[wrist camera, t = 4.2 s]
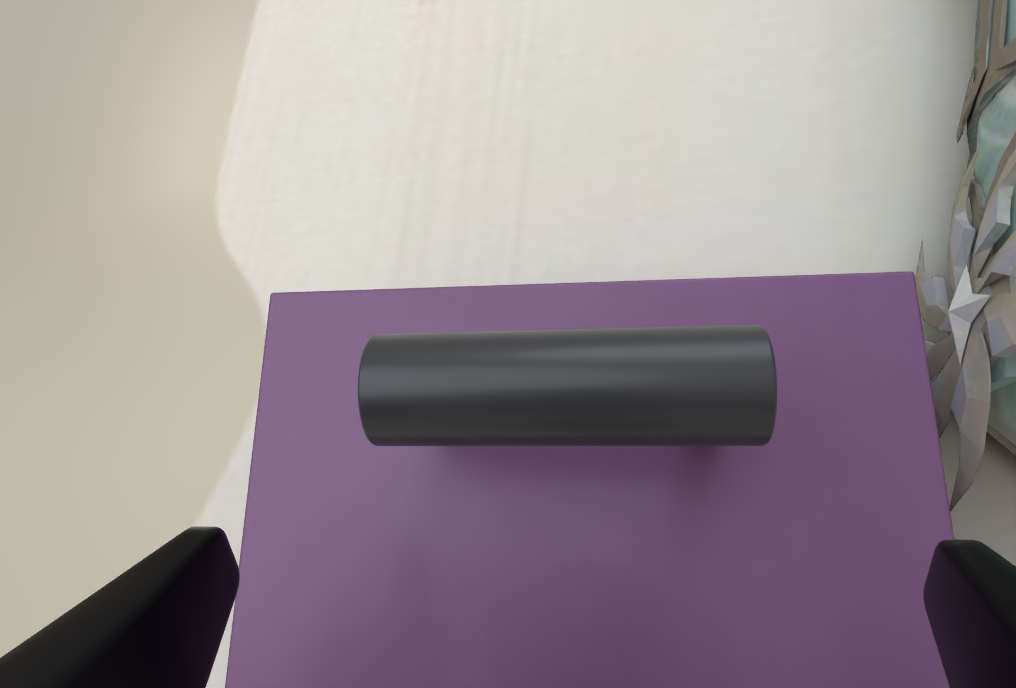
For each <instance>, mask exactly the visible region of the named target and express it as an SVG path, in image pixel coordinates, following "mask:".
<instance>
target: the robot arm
mask: <svg viewBox="0 0 1016 688" xmlns="http://www.w3.org/2000/svg"><path fill="white" fill-rule="evenodd" d="M239 582H240V573H239V568H238V565H237V562H236V560H235V557H234V554H233V552H232V549H231V547H230V544H229V541H228V539H227V536H226V534H225V532H224V531H223V530H222V529H221V528H218V527H191V528H188V529H187V530H185V531H184V532H182V533H181V534H179V535H178V536H176V537H175V538H173V539H172V540H170V541H169V542H168V543H166V544H165V545H163V546H162V547H160V548H159V549H157V550H156V551H155V552H153V553H152V554H150V555H149V556H147V557H146V558H144V559H143V560H142V561H140V562H139V563H137V564H136V565H134V566H133V567H131V568H130V569H129V570H127V571H126V572H124V573H123V574H121V575H120V576H118V577H117V578H116V579H114V580H113V581H111V582H110V583H108V584H107V585H105V586H104V587H102V588H101V589H100V590H98V591H97V592H95V593H94V594H92V595H91V596H89V597H88V598H87V599H85V600H84V601H82V602H81V603H79V604H78V605H77V606H75V607H74V608H72V609H71V610H69V611H68V612H66V613H65V614H63V615H62V616H60V617H59V618H58V619H56V620H55V621H53V622H52V623H50V624H49V625H48V626H46V627H45V628H43V629H42V630H40V631H39V632H37V633H36V634H34V635H33V636H32V637H30V638H29V639H27V640H26V641H24V642H23V643H21V644H20V645H19V646H17V647H16V648H14V649H13V650H11V651H10V652H8V653H7V654H5V655H4V656H3V657H1V658H0V688H205V687H206V684H207V682H208V679H209V676H210V673H211V670H212V667H213V664H214V661H215V658H216V655H217V652H218V649H219V645H220V642H221V639H222V636H223V633H224V630H225V627H226V624H227V621H228V618H229V615H230V612H231V609H232V606H233V603H234V600H235V597H236V594H237V591H238V587H239ZM923 600H924V606H925V610H926V613H927V616H928V620H929V623H930V626H931V629H932V632H933V636H934V639H935V642H936V645H937V649H938V652H939V655H940V658H941V661H942V665H943V668H944V671H945V674H946V678H947V681H948V684H949V687H950V688H1016V566H1014V565H1013V564H1011V563H1010V562H1009V561H1007V560H1006V559H1005V558H1003V557H1002V556H1000V555H999V554H998V553H996V552H995V551H993V550H992V549H991V548H989V547H988V546H986V545H985V544H983V543H981V542H979V541H975V540H942V541H940V542H939V543H938V544H937V546H936V548H935V550H934V554H933V557H932V560H931V564H930V567H929V571H928V574H927V578H926V581H925V584H924V589H923Z"/></svg>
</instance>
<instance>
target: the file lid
mask: <svg viewBox="0 0 1016 688" xmlns="http://www.w3.org/2000/svg"><path fill="white" fill-rule="evenodd" d="M942 540H954V535H953V529H952V522H951V515H950V509H949V502H948V495H947V489H946V482H945V475H944V469H943V462H942V455H941V449H940V442H939V435H938V429H937V422H936V415H935V409H934V402H933V395H932V389H931V382H930V375H929V369H928V362H927V356H926V349H925V342H924V336H923V329H922V322H921V316H920V309H919V302H918V296H917V289H916V282H915V276H914V273H913V272H885V273H855V274H825V275H795V276H765V277H735V278H705V279H675V280H645V281H615V282H585V283H555V284H525V285H495V286H465V287H435V288H405V289H375V290H345V291H315V292H285V293H272V294H271V295H270V304H269V313H268V321H267V330H266V339H265V347H264V356H263V365H262V373H261V382H260V390H259V399H258V408H257V416H256V425H255V434H254V442H253V451H252V459H251V468H250V477H249V485H248V494H247V503H246V511H245V520H244V529H243V537H242V546H241V554H240V563H239V573H240V582H239V587H238V591H237V594H236V598H235V606H234V615H233V623H232V632H231V641H230V649H229V658H228V667H227V675H226V684H225V688H950V687H949V684H948V681H947V678H946V674H945V671H944V668H943V665H942V661H941V658H940V655H939V652H938V649H937V645H936V642H935V639H934V636H933V632H932V629H931V626H930V623H929V620H928V616H927V613H926V610H925V606H924V600H923V589H924V584H925V581H926V578H927V574H928V571H929V567H930V564H931V560H932V557H933V554H934V550H935V548H936V546H937V544H938V543H939V542H940V541H942Z"/></svg>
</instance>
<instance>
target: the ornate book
mask: <svg viewBox="0 0 1016 688" xmlns="http://www.w3.org/2000/svg"><path fill="white" fill-rule="evenodd" d="M973 68H974V84H973V87H972V89H971V84H972V76H973V71H972V74H971V78H970V81H969V85H968V89H967V92H966V96H965V101H964V105H963V110H962V114H961V119H960V123H959V128H958V132H957V144H958V142H959V140H960V138H961V135H962V134H963V129H964V126H965V124H966V121H967V137H968V143H969V148H970V157H969V162H968V167H967V171H966V173H965V175H964V177H963V179H962V181H961V184H960V188H959V191H958V194H957V197H956V201H955V204H954V207H953V211H952V219H951V228H950V236H949V245H948V258H949V278H950V286H951V289H952V292H953V295H954V297H953V300H952V303H951V305H950V308H949V307H948V300H947V292H946V284H945V278H942V277H937V276H933V277H932V278H930V279H929V280H927V278H926V275H925V272H924V257H923V238H922V243H921V249H920V255H919V261H918V267H917V272H916V278H915V282H916V289H917V296H918V302H919V309H920V312H921V314H922V317H923V319H924V321H925V322H926V323H928V324H930V325H931V326H933V327H934V328H936V329H937V330H943V331H948V332H949V336H948V337H946V338H944V339H942V340H941V341H939V342H937V343H936V344H935V343H933V342H931V341H928V340H924V342H925V349H926V356H927V362H928V369H929V375H930V381H931V380H932V379H933V378H934V377H935V376H936V375H937V374H938V373H939V372H940V371H941V370H942V369H943V370H942V371H941V372H940V373H939V374H938V375H937V377H936V378H935V379H934V380H933V381H932V382H931V389H932V395H933V402H934V409H935V415H936V422H937V429H938V435H939V438H940V436H941V434H942V432H943V431H944V429H945V427H946V425H947V423H948V420H949V417H950V414H951V411H953V414H954V416H955V419H956V421H957V424H958V426H959V429H960V452H959V469H958V474H957V478H956V482H955V486H954V491H953V495H952V499H951V503H950V508H949V509H950V511H951V510H952V509H953V507H954V506H955V505H956V504H957V502H958V501H959V500H960V499H961V497H962V496H963V495H964V494H965V492H966V491H967V490H968V489H969V487H970V486H971V485H972V483H973V480H974V478H975V475H976V473H977V470H978V467H979V465H980V462H981V459H982V457H983V454H984V448H985V440H986V432H988V433H989V434H990V435H991V436H993V437H994V438H995V439H996V440H997V441H998V442H1000V443H1001V444H1002V445H1003V446H1004V447H1006V448H1007V449H1008V450H1009V451H1010V452H1012V453H1013V454H1014V455H1015V456H1016V0H979V1H978V12H977V22H976V33H975V53H974V67H973ZM968 197H969V198H970V202H971V209H972V216H973V217H972V226H971V225H970V224H969V221H968V217H967V212H966V207H967V198H968ZM970 250H971V251H970ZM969 254H970V267H969V273H968V268H967V262H968V258H969ZM950 355H951V356H950ZM949 357H950V358H949ZM948 359H949V360H948ZM947 360H948V361H947ZM946 362H947V363H946ZM945 364H946V365H945ZM944 365H945V366H944ZM943 367H944V368H943Z"/></svg>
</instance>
